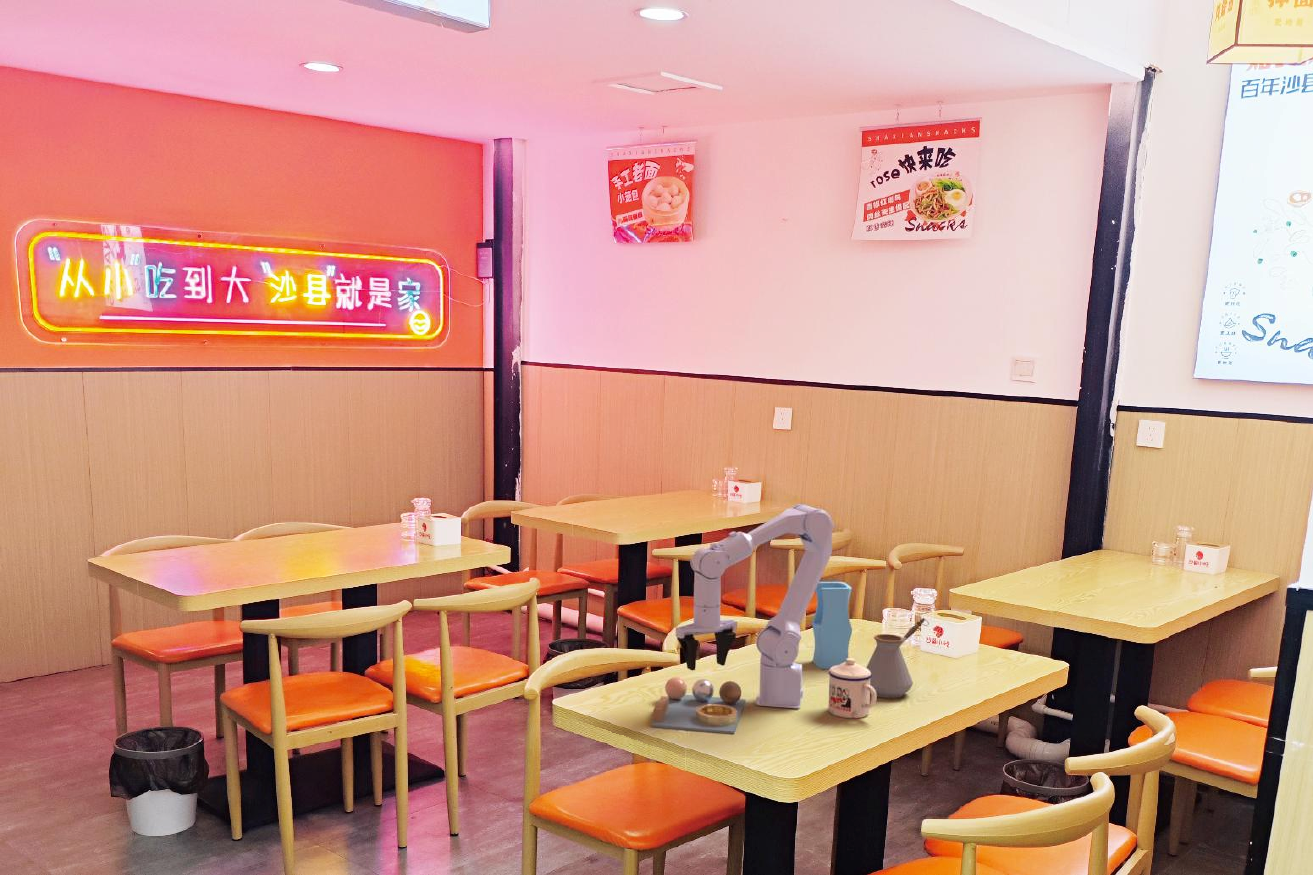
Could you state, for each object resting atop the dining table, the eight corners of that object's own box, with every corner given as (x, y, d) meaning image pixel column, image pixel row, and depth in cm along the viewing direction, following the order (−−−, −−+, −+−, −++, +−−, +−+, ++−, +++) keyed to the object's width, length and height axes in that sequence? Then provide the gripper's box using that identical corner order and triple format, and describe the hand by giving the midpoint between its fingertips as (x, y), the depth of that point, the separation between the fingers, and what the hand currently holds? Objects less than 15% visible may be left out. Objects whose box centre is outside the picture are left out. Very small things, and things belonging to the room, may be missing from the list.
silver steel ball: (715, 698, 237) (715, 677, 236) (712, 705, 232) (712, 683, 232) (693, 696, 238) (694, 675, 237) (690, 703, 233) (690, 681, 233)
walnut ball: (742, 700, 236) (742, 679, 235) (739, 707, 231) (740, 685, 231) (720, 698, 237) (721, 677, 236) (717, 705, 232) (718, 684, 231)
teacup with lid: (818, 710, 232) (820, 657, 231) (848, 702, 237) (849, 651, 236) (859, 726, 222) (861, 670, 221) (889, 718, 228) (891, 664, 227)
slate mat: (745, 701, 237) (745, 688, 236) (734, 733, 216) (734, 719, 216) (669, 695, 240) (669, 682, 240) (651, 726, 219) (651, 712, 219)
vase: (811, 659, 271) (813, 581, 269) (841, 659, 271) (844, 581, 270) (819, 669, 263) (821, 588, 261) (850, 668, 264) (853, 588, 262)
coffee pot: (894, 704, 237) (896, 637, 236) (850, 692, 245) (853, 627, 244) (944, 684, 252) (947, 622, 251) (902, 674, 260) (904, 613, 259)
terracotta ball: (688, 696, 238) (688, 675, 238) (684, 703, 233) (685, 681, 233) (666, 694, 239) (667, 673, 238) (663, 701, 234) (663, 679, 234)
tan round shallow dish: (738, 714, 227) (739, 705, 226) (734, 727, 218) (734, 718, 218) (699, 711, 228) (699, 702, 228) (693, 724, 220) (693, 715, 220)
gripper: (724, 597, 237) (723, 657, 238) (668, 604, 230) (667, 666, 231) (743, 603, 231) (741, 665, 232) (686, 611, 224) (685, 674, 225)
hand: (706, 666), depth 231 cm, fingers open, 7 cm apart
